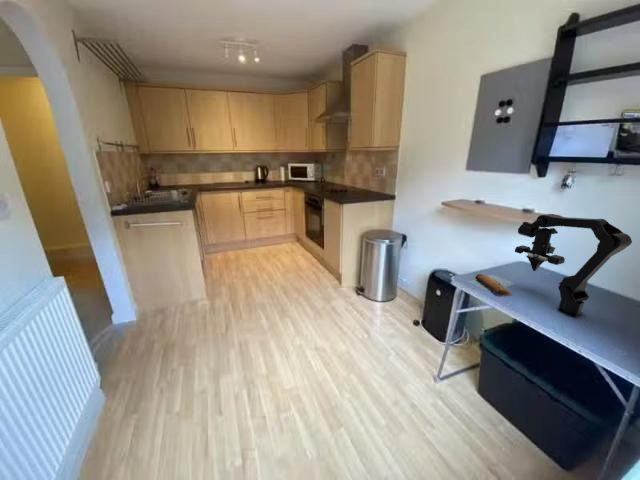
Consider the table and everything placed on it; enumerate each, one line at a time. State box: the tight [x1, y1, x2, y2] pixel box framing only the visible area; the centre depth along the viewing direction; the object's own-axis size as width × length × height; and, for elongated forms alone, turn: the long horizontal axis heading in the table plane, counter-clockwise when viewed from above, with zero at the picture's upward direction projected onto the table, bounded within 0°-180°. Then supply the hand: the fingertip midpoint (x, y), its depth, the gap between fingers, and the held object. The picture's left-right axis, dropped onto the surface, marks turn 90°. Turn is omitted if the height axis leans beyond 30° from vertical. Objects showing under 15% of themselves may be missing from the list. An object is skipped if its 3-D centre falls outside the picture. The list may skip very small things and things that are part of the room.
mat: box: [467, 273, 516, 293], centre depth 147 cm, size 13×20×1 cm, turn 113°
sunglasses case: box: [475, 273, 513, 297], centre depth 141 cm, size 18×7×7 cm
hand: (534, 270), depth 132 cm, fingers closed
